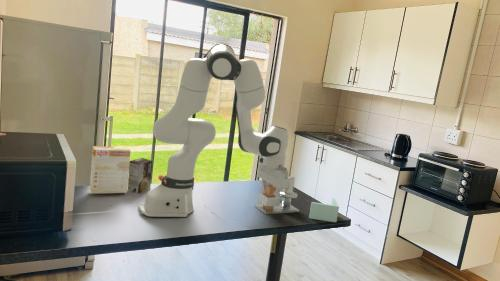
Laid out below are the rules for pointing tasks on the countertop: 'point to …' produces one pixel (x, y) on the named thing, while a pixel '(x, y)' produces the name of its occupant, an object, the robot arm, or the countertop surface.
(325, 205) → the right angle wall
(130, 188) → the coffee box
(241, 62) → the robot arm
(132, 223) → the countertop surface
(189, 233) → the countertop surface
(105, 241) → the countertop surface
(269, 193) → the orange rectangular block
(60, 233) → the countertop surface
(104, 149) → the coffeecake box
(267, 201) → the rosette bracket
